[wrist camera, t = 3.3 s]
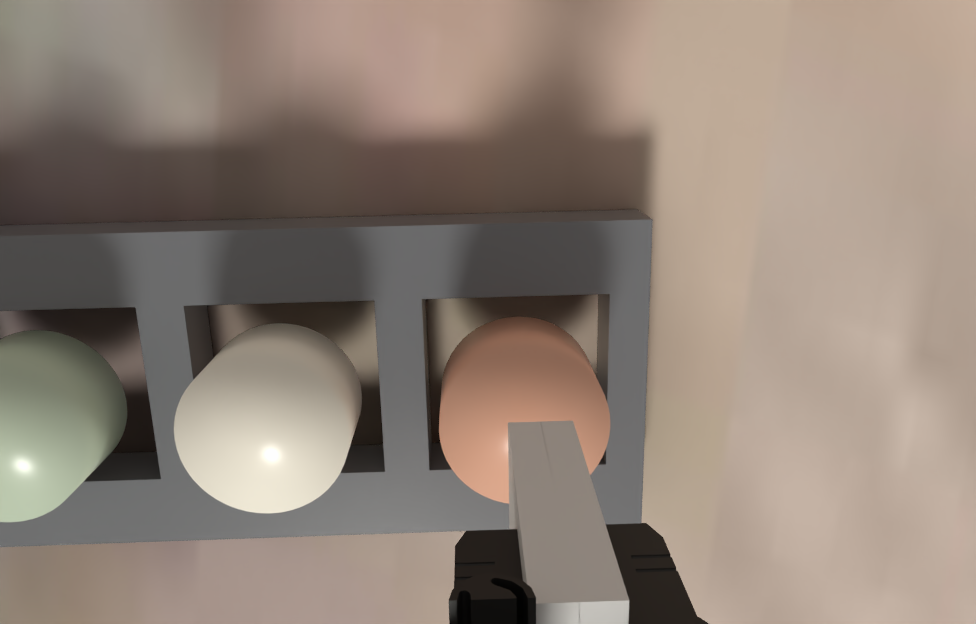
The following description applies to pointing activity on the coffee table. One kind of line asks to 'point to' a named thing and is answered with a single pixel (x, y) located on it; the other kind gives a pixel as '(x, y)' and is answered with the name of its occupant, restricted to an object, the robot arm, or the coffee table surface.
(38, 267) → the frame
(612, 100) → the coffee table surface
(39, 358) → the button sage
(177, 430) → the button cream
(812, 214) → the coffee table surface
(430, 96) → the coffee table surface
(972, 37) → the coffee table surface
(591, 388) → the button terracotta
